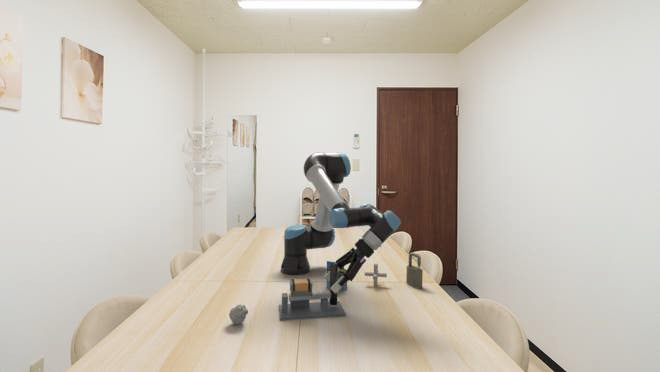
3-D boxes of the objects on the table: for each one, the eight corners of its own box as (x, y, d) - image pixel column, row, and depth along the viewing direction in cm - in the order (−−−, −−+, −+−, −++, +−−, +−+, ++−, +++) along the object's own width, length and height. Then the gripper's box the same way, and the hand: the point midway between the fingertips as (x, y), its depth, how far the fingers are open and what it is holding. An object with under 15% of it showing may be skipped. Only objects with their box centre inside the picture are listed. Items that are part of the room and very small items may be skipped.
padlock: (416, 288, 161) (417, 256, 160) (405, 283, 168) (405, 251, 167) (423, 287, 163) (424, 255, 162) (411, 282, 170) (412, 251, 169)
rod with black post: (289, 308, 132) (289, 267, 131) (288, 304, 135) (288, 264, 134) (338, 304, 136) (338, 264, 135) (336, 301, 139) (336, 262, 138)
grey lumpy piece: (239, 330, 120) (239, 309, 120) (225, 324, 124) (224, 305, 123) (252, 323, 125) (252, 303, 125) (238, 318, 129) (237, 299, 128)
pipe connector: (385, 289, 159) (386, 267, 159) (363, 288, 161) (363, 266, 161) (386, 282, 169) (387, 261, 168) (365, 281, 171) (366, 260, 170)
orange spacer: (294, 296, 131) (294, 283, 131) (293, 292, 136) (293, 279, 136) (308, 296, 132) (308, 282, 132) (306, 291, 137) (306, 278, 137)
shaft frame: (280, 320, 127) (280, 287, 127) (278, 307, 139) (278, 277, 138) (345, 316, 132) (346, 284, 131) (339, 303, 143) (339, 274, 143)
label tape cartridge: (347, 288, 161) (347, 261, 161) (344, 290, 158) (344, 263, 157) (329, 285, 165) (330, 258, 164) (326, 287, 162) (326, 260, 161)
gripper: (385, 259, 126) (343, 303, 124) (365, 243, 151) (330, 280, 149) (371, 245, 125) (328, 289, 123) (353, 231, 149) (317, 268, 147)
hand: (329, 284), depth 136 cm, fingers open, 13 cm apart
